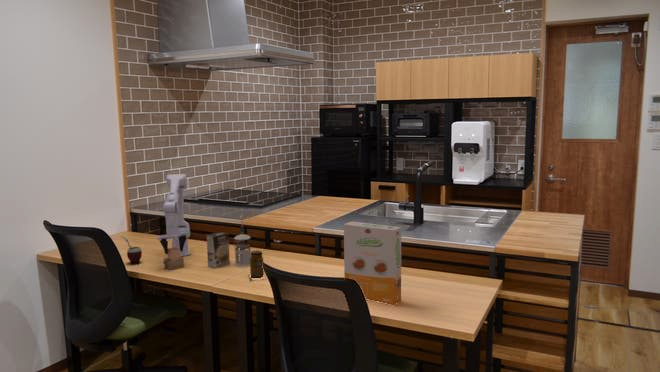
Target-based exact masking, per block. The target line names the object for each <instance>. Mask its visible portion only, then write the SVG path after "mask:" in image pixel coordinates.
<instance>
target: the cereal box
mask: <svg viewBox="0 0 660 372" xmlns="http://www.w3.org/2000/svg"><path fill="white" fill-rule="evenodd" d="M343 260H344V263H343V264H344V266H343V267H344V269H343V270H344V273H343V274H344V279H345V278H351V279H354V280H356V281H357V282H358V283H359V285H360V286H361V288H362V290H363V292H364V295H365V297H366V299H369V300H374V301H379V302H383V303H387V304H391V305H395V304H396V303H398V302H399V301H400V302H402V226H393V225H386V224H385V225H384V224H377V223H376V224H375V223H368V222H360V221H349V222H346V223H344V224H343ZM400 302H399V303H400ZM399 303H398V304H399ZM387 304H386V305H387ZM391 305H390V306H391ZM396 305H397V304H396ZM396 305H395V306H396Z"/></svg>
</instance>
